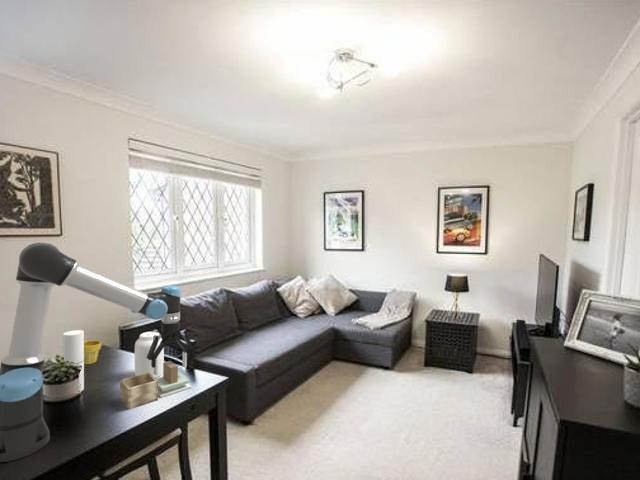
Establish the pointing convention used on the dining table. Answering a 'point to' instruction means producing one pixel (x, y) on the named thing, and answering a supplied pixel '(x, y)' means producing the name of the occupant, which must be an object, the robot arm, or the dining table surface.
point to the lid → (171, 378)
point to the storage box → (138, 390)
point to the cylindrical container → (74, 350)
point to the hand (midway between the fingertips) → (170, 370)
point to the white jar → (142, 351)
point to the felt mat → (173, 391)
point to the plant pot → (91, 351)
